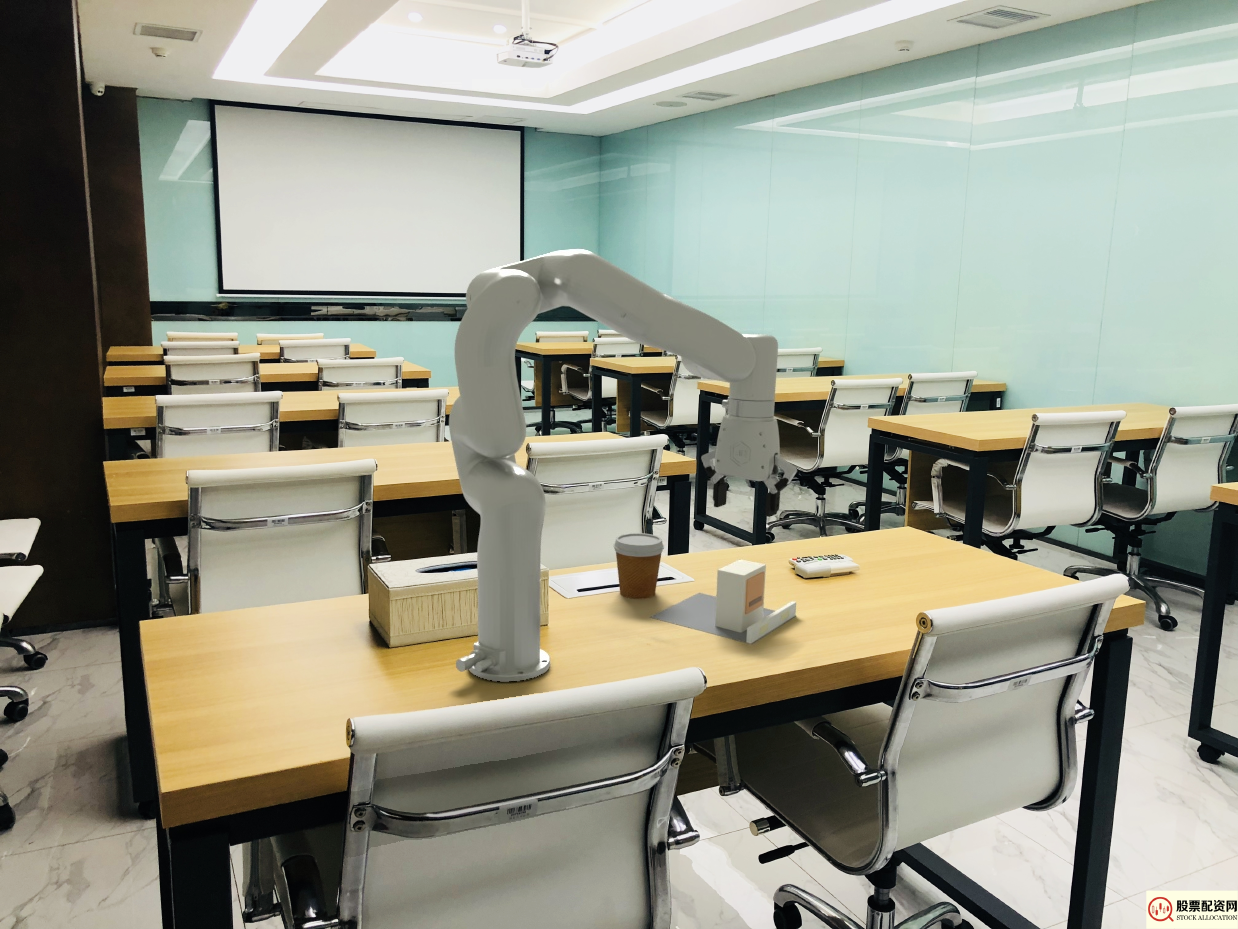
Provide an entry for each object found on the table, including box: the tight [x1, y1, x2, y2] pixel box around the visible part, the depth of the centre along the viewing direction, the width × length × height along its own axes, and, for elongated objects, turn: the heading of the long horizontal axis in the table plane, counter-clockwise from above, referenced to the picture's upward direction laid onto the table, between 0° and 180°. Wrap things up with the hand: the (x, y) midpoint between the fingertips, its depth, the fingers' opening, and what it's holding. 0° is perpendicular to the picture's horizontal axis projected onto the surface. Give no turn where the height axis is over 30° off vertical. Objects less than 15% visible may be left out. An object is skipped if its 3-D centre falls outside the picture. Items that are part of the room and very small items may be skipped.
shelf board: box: [649, 592, 797, 645], centre depth 163 cm, size 17×20×4 cm
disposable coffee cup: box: [612, 532, 665, 600], centre depth 174 cm, size 10×10×12 cm
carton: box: [715, 558, 767, 633], centre depth 159 cm, size 5×8×10 cm
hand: (745, 510), depth 156 cm, fingers open, 9 cm apart
